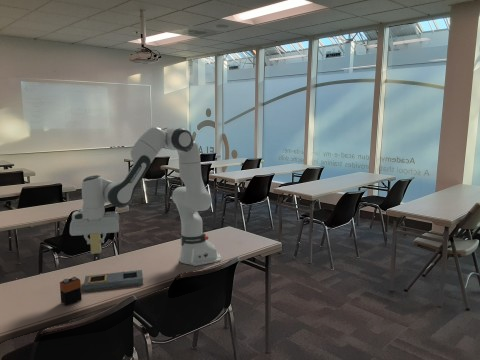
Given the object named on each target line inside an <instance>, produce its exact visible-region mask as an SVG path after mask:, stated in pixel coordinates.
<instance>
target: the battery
mask: <svg viewBox="0 0 480 360" xmlns="http://www.w3.org/2000/svg"><path fill="white" fill-rule="evenodd" d="M81 282H82V281H81V279H80V278H78V277H77V276H73V277H71V278H65V279H62V281H59V289H60V290H59V291H60V292H59V293H60V302H61V304H63V305H64V306H66V305H67V306H69V305H71V304H75V303H77V302H80V301H82V298H83V297H82V286H81V285H82V284H81Z"/></svg>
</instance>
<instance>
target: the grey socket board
mask: <svg viewBox="0 0 480 360" xmlns="http://www.w3.org/2000/svg"><path fill="white" fill-rule="evenodd" d="M141 285H144V276H143V269H138V270H128V271H120V272H119V271H118V272H111V273H99V274H93V275H85V277H84V281H83V292H84V293H85V292H92V291H100V290H102V291H103V290H108V289H110V290H111V289H117V288H124V287H133V286H141Z"/></svg>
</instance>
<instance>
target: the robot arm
mask: <svg viewBox="0 0 480 360" xmlns="http://www.w3.org/2000/svg"><path fill="white" fill-rule="evenodd" d="M162 149H166V150H167V149H168V150H170V151H176V152H177V154H178V167H179V170H178V172H179V178H180V180H181V181H182V182H183V184H184V186H178V187H176V188H175V189H174V190H173V192H172V195H171V198H172V201H173V202H174V204H175V205H176V208H177V211H178V214H179V216H180V218H179V219H180V223H181V224H180V227H181V229H180V230H181V234H180V245H181V247H180V248H181V249H180V254H179V259H178V260H179V262H180V263H182V264H186V265H190V266H193V267H195V266H201V265H206V264H208V265H209V264H212V263H216V262H217V263H218V262H221V261H222V256H221V254H220V253H219V252H218V251H217V248H216V246H215V245H214V244H213V243H212V242H210V241H208V239H209V235H207V234H206V233H205V232H203V219H202V217H201V216H200V213H199V211H200V212H202V211H204V212H205V211H208V209H209V208H210V207H211V205H212V203H213V200H212V196H211V194H210V192H209V191H208V189H207V188H206V185H205V183H204V180H203V176H202V165H201V152H200V148H199V145H198V143H197V141H194V139H193V136H192V134H191V132H190V131H189V130H188V129H186V128H183V127H173V126H172V127H165V128H161V127H159V126H151V127H149V128H148V129H147V130H146V131H145V132H143V134H141V136H140V137H139V138H138V140H137V141H136V142H135V143H134V145H132V148H131V150H130V157H131V160H132V162H133V163H132V167H131V168H130V170H129V171H128V173H127V174H126V175H125V177H124V179H123V180H122V181H121V182H117V181H115V180H109V179H107V178H104V177H103V176H101V175H99V174H98V175H97V174H96V175H90V176H87V177H85V178H84V179H83V180H82V183H81V184H82V185H81V198H82V201H83V203H82V209H79V210H76V211H74V212H72V215H71V221H70V223H69V235H70V236H83V238H84V239H85V241H86V245H90V238H89V237H88V236H90V234H94V233H100V235H102V238H100V243H101V244H104V243H105V239H106V236H107V234H111V233H113V234H114V233H119V231H120V225H119V221H120V214H119V212H116V211H105V204H106V203H108V204H110V205H112V206H113V207H115V208H118V209H122V208H125V207H128V206H129V205H130V204H131V203H132V201H133V199H134V195H135V192H136V190H137V188H138V186H139V184H141V181H142V180H143V178H144V177H145V175H146V173H147V172H148V170H149V168H150V166H151V164H152V163H153V161H154V160H155V158H156V157H157V155H158V154H159V153H160V152H161V150H162Z"/></svg>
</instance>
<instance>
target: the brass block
mask: <svg viewBox="0 0 480 360" xmlns="http://www.w3.org/2000/svg"><path fill="white" fill-rule="evenodd" d="M100 238H101V234H100V233H94V234H89V239H90V244H89V245H90V254H91V255H93V254H101V253H102V243H100Z"/></svg>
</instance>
